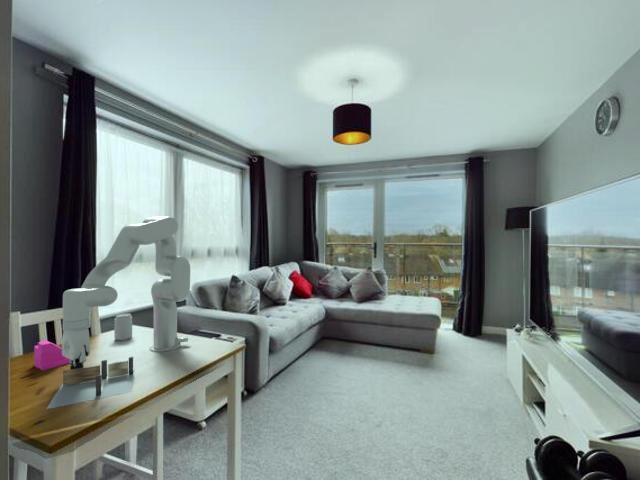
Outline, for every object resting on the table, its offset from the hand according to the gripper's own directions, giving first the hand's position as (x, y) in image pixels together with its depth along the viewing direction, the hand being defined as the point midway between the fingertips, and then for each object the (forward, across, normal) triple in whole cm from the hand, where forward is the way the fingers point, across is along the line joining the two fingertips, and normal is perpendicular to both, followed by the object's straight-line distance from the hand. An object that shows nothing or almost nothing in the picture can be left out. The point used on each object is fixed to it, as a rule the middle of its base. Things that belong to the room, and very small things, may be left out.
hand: (76, 376), depth 106 cm
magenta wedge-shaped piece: (+2, -25, +3) cm, 25 cm away
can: (+2, -34, +32) cm, 47 cm away
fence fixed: (+1, +15, +5) cm, 16 cm away
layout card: (+2, +12, +1) cm, 12 cm away
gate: (+1, +5, 0) cm, 5 cm away
